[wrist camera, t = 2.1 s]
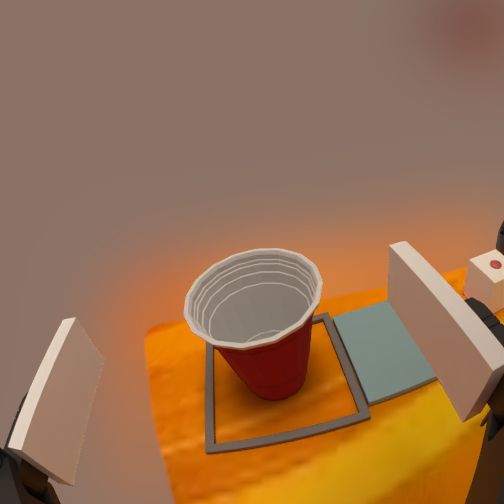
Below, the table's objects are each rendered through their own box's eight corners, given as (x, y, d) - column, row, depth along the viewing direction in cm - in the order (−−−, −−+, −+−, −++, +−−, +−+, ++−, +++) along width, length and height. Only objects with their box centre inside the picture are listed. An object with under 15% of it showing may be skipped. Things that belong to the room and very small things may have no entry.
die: (488, 281, 31) (496, 248, 29) (510, 304, 27) (521, 269, 24) (462, 293, 31) (469, 258, 29) (484, 318, 27) (495, 282, 24)
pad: (428, 291, 34) (429, 286, 33) (480, 357, 23) (482, 352, 23) (332, 321, 34) (332, 316, 34) (368, 406, 24) (368, 402, 23)
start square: (328, 315, 35) (327, 312, 35) (370, 418, 22) (371, 416, 22) (207, 343, 36) (206, 340, 35) (207, 454, 23) (205, 452, 23)
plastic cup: (215, 425, 26) (161, 341, 20) (233, 343, 35) (200, 256, 29) (334, 421, 23) (327, 330, 17) (328, 335, 32) (317, 240, 27)
